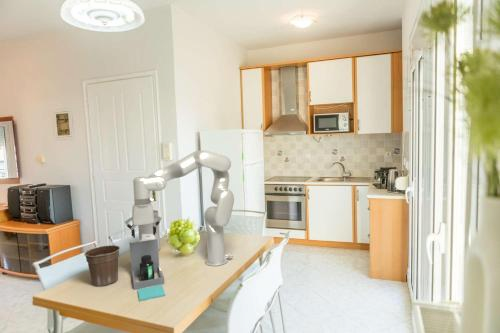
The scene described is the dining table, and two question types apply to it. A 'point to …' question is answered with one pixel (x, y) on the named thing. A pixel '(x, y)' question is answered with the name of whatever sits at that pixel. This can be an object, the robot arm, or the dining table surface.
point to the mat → (151, 292)
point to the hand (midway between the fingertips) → (144, 236)
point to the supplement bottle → (146, 268)
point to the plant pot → (103, 264)
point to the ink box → (147, 237)
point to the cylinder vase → (150, 230)
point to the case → (136, 253)
